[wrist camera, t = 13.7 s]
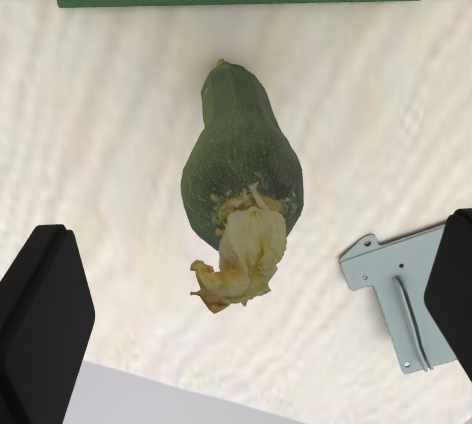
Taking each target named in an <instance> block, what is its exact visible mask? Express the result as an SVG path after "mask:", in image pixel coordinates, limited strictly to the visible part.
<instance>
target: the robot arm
mask: <svg viewBox="0 0 472 424" xmlns="http://www.w3.org/2000/svg"><path fill="white" fill-rule="evenodd" d="M424 304H425V306H426V308H427V310H428V312H429V313H430V315H431V317H432V318H433V320H434V322H435V323H436V325H437V326H438V328H439V330H440V331H441V333H442V335H443V336H444V338H445V339H446V341H447V343H448V344H449V346H450V348H451V349H452V351H453V353H454V354H455V356H456V357H457V359H458V361H459V362H460V364H461V366H462V367H463V369H464V370H465V372H466V374H467V375H468V377H469V379H470V380H471V382H472V208H467V209H458V210H456V211H455V212H454V214H453V215H450V216H449V217H448V219H447V221H446V224H445V228H444V231H443V234H442V237H441V240H440V244H439V247H438V250H437V253H436V256H435V260H434V263H433V266H432V269H431V272H430V276H429V279H428V282H427V285H426V288H425V292H424ZM94 322H95V309H94V305H93V302H92V298H91V294H90V290H89V287H88V283H87V279H86V276H85V272H84V268H83V265H82V261H81V257H80V254H79V250H78V246H77V243H76V239H75V235H74V233H73V231H72V230H66V228H65V226H64V225H62V224H56V225H38V226H36V228H35V229H34V230H33V232H32V233H31V235H30V237H29V238H28V240H27V241H26V243H25V244H24V246H23V247H22V249H21V250H20V252H19V254H18V255H17V257H16V258H15V260H14V261H13V263H12V264H11V266H10V267H9V269H8V271H7V272H6V274H5V275H4V277H3V278H2V280H1V281H0V424H62V423H63V420H64V417H65V414H66V411H67V407H68V404H69V401H70V398H71V395H72V392H73V389H74V385H75V382H76V379H77V376H78V373H79V370H80V366H81V363H82V360H83V357H84V354H85V351H86V348H87V344H88V341H89V338H90V335H91V332H92V329H93V325H94Z"/></svg>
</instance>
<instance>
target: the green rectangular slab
mask: <svg viewBox="0 0 472 424" xmlns="http://www.w3.org/2000/svg"><path fill="white" fill-rule="evenodd" d="M377 1H420V0H57V4H58V7H60V8H74V7H124V6H175V5H225V4H276V3H326V2H377Z"/></svg>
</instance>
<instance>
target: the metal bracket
mask: <svg viewBox="0 0 472 424" xmlns="http://www.w3.org/2000/svg"><path fill="white" fill-rule="evenodd" d="M444 228H445V224H443V225H440V226H437V227H434V228H431V229H428V230H425V231H423V232H420V233H417V234H414V235H411V236H408V237H405V238H402V239H399V240H396V241H393V242H390V243H387V244H384V245H379V244H378V243H377V239H376V237H375V236H374V235H372V234H371V235H367V236H364V237H362V238H361V239H360V240H359V241H358V242H357V243H356V244H355V245H354V246H353V247H352V248H351V249H350V250H349V251H347V252H346V253H345V254H344V255H343V256H342V257H341V258H340V260H339V261H340V264H341V267H342V270H343V273H344V276H345V279H346V282H347V284H348V287H349V289H350V290H352V291H355V290H358V289H361V288H364V287H367V286H374V288H375V291H376V294H377V297H378V300H379V303H380V306H381V309H382V312H383V315H384V318H385V321H386V324H387V327H388V330H389V333H390V336H391V339H392V342H393V345H394V348H395V352H396V355H397V358H398V361H399V364H400V367H401V370H402V372H403V373H404V374H410V373H413V372H416V371H420V370H423V369H424V371H425V372H426V371H428V370H427V368H430V370H433V367H434V366H437V365H441V364H444V363H448V362H451V361H455V360H458V359H457V357H456V356H455V354H454V353H453V351H452V349H451V348H450V346H449V344H448V343H447V341H446V339H445V338H444V336H443V335H442V333H441V331H440V330H439V328H438V326H437V325H436V323H435V322H434V320H433V318H432V317H431V315H430V313H429V312H428V310H427V308H426V306H425V304H424V292H425V288H426V285H427V282H428V279H429V276H430V272H431V269H432V266H433V263H434V260H435V256H436V253H437V250H438V247H439V244H440V240H441V237H442V234H443V231H444ZM368 240H369V241H370V245H369V246H365V245H364V243H365V241H368ZM400 264H403V266H402V267H399V265H400ZM363 276H367V278H366V279H363ZM407 362H408V363H410V364H409V366H404V364H405V363H407Z"/></svg>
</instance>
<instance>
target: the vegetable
mask: <svg viewBox="0 0 472 424" xmlns="http://www.w3.org/2000/svg"><path fill="white" fill-rule="evenodd" d="M201 96H202V106H203V120H204V124H205V129H204V130H203V131H202V132H201V134H200V136H199V138H198V140H197V142H196V144H195V146H194V148H193V150H192V152H191V155H190V157H189V159H188V161H187V163H186V165H185V167H184V169H183V174H182V180H181V195H182V199H183V204H184V208H185V211H186V214H187V217H188V220H189V223H190V225H191V227H192V229H193V230H194V232H195V233H196V234H197V235H198V236H199V237H200V238H201V239H203V240H204V241H205V242H206V243H208V244H209V245H210V246H212V247H213V248H214V249H215V250H217V251H219V254H220V259H219V269H220V272H214V270H213V267H212V266H209V265H206V264H204V262H203V261H199V260H196V261H194V262H193V263H192V264H191V268H190V270H191V271H196V277H197V280H198V283H199V285H200V288H201V290H199V291H198V292H191V294H190V295H198V296H200V297H201V299H202V300H203V301H204V303H205V304H206V306H207V307H208V309H209V310H210V311H211V312H213V313H214V314H215V313H217V312H219V311H221V310H223V309H225V308H226V307H228V306H229V305H230V304H231V303H240V302H241V303H242V305H243V306H245V307H246V303H247V301H248V300H250V299H253V298H254V297H256V296H261V295H264V294H266V293H268V292H269V291H271V290H270V288H269V287H268V282H269V280H270V279H271V278H272V276H273V275H274V274H275V272H276V271H277V266H276V264H277V263H278V262H280V260H281V259H282V257H283V255H284V251H285V250H286V244H287V239H286V237H287V236H288V235H289V233H290V232H291V230H292V228H293V227H294V225H295V223H296V222H297V220H298V218H299V217H300V215H301V212H302V209H303V205H304V204H303V176H302V168H301V165H300V162H299V160H298V157H297V155H296V153H295V152H294V150H293V149H292V148H291V146H290V144H289V141H288V139H287V138H286V137H285V136H284V135H283V133H282V132H281V130H280V128H279V125H278V123H277V121H276V118H275V116H274V114H273V111H272V108H271V105H270V102H269V99H268V96H267V93H266V91H265V89H264V87H263V86H262V85H261V83H260V82H259V81H258V79H257V78H256V77H255V75H253V74H252V73H250V72H249V71H248V70H246V69H245V68H244V67H242V66H240V65H235V64H230V63H228V62H226V61H225V60H224V59H220V60H219V61H218V63H217V66H216V68H214V69H213V70H212V71H211V72H210V73H209V75H208V77H207V79H206V81H205V83H204V85H203V88H202V91H201ZM211 272H213V273H211Z"/></svg>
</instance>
